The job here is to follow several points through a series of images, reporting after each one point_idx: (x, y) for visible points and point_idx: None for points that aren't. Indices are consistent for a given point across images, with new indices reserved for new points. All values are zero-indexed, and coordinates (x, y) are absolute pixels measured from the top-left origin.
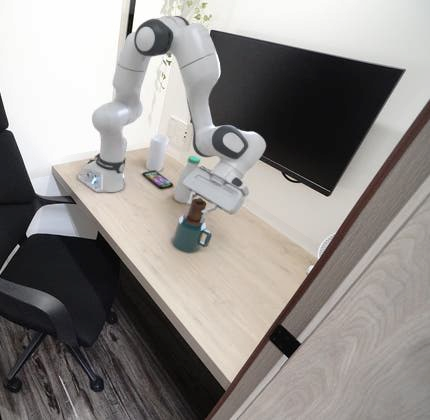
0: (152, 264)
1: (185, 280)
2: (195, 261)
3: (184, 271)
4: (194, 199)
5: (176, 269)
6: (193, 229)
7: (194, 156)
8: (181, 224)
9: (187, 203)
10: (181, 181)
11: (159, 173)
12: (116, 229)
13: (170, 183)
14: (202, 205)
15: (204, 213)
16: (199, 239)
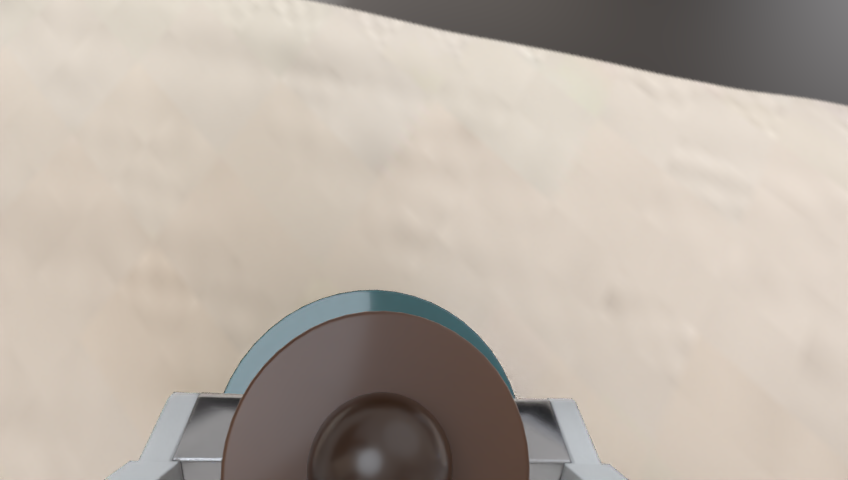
0: (348, 87)
1: (134, 149)
2: (198, 346)
3: (187, 203)
4: (514, 472)
5: (231, 174)
6: (281, 347)
7: None
8: (413, 301)
9: (553, 401)
10: None
11: None
12: (713, 127)
13: None
14: (265, 434)
15: (175, 396)
16: None
